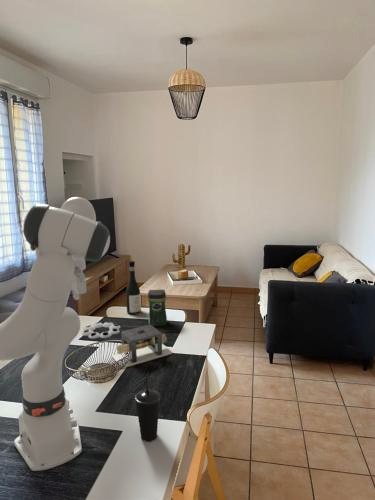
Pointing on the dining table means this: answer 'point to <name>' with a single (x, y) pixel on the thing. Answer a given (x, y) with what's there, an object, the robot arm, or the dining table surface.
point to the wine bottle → (133, 293)
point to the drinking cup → (148, 412)
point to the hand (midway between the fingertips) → (76, 298)
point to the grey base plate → (144, 355)
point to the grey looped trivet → (98, 325)
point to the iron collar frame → (134, 336)
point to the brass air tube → (139, 344)
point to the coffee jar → (157, 307)
